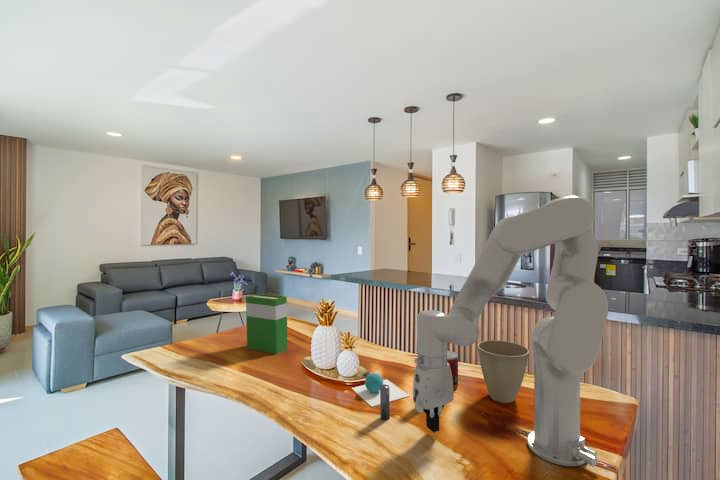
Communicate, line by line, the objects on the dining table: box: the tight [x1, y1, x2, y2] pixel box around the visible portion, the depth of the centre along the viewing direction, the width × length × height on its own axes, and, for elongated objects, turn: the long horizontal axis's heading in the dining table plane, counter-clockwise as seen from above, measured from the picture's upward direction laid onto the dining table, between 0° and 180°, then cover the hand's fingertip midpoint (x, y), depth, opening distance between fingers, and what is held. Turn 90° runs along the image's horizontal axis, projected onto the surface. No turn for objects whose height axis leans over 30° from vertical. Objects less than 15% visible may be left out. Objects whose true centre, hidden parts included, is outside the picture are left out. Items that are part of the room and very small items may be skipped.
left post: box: [379, 384, 391, 421], centre depth 98 cm, size 3×3×9 cm
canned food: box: [447, 350, 459, 391], centre depth 117 cm, size 8×8×11 cm
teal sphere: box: [364, 372, 384, 393], centre depth 114 cm, size 6×6×6 cm
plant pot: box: [477, 339, 530, 404], centre depth 109 cm, size 15×15×16 cm
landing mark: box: [351, 379, 411, 408], centre depth 114 cm, size 14×14×1 cm
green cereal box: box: [245, 293, 289, 355], centre depth 158 cm, size 18×7×24 cm, turn 62°
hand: (432, 429), depth 90 cm, fingers closed
